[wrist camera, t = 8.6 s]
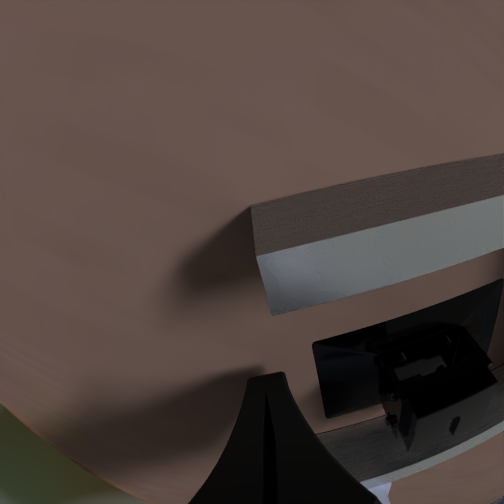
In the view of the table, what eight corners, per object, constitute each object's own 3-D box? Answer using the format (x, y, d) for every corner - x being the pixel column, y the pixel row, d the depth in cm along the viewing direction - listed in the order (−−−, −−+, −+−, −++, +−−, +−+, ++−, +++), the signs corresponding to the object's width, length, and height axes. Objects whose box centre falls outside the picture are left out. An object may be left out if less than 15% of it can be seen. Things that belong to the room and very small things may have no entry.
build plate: (296, 423, 15) (307, 499, 11) (265, 320, 12) (274, 418, 8) (495, 355, 14) (533, 408, 10) (519, 245, 11) (582, 295, 7)
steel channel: (525, 364, 14) (556, 406, 11) (312, 448, 15) (324, 513, 12) (566, 145, 9) (632, 170, 5) (250, 205, 10) (257, 275, 6)
